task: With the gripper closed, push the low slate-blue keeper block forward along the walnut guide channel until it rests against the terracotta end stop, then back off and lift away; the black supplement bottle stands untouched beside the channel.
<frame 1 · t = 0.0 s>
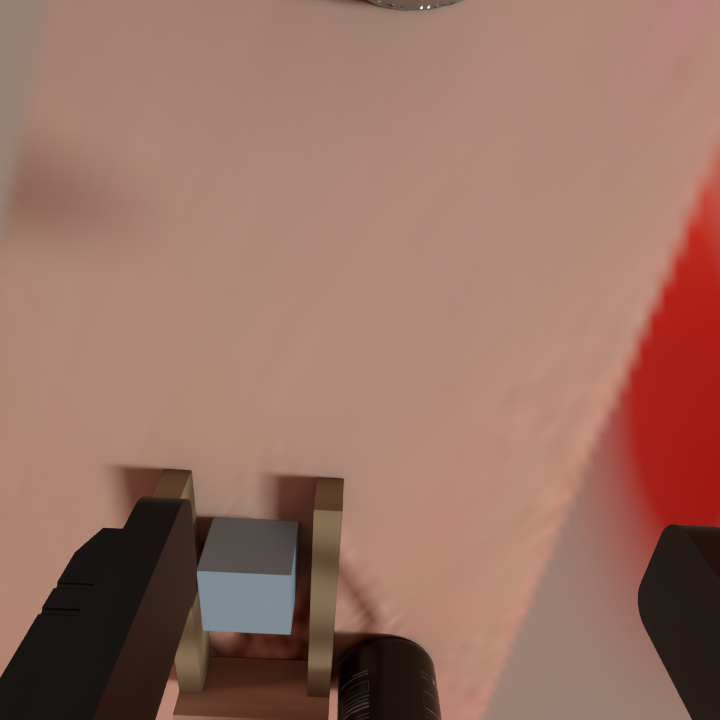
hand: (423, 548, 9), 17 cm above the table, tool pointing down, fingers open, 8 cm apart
supplement bottle: (386, 661, 40), on the table
track: (258, 593, 36), on the table
keeper: (257, 547, 34), resting in track
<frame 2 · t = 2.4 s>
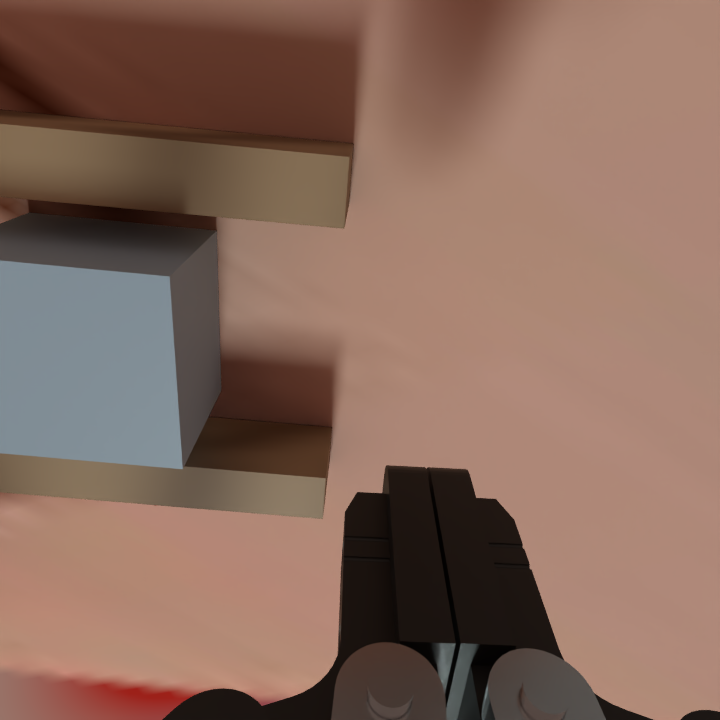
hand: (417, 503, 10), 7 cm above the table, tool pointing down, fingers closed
keeper: (134, 306, 16), resting in track
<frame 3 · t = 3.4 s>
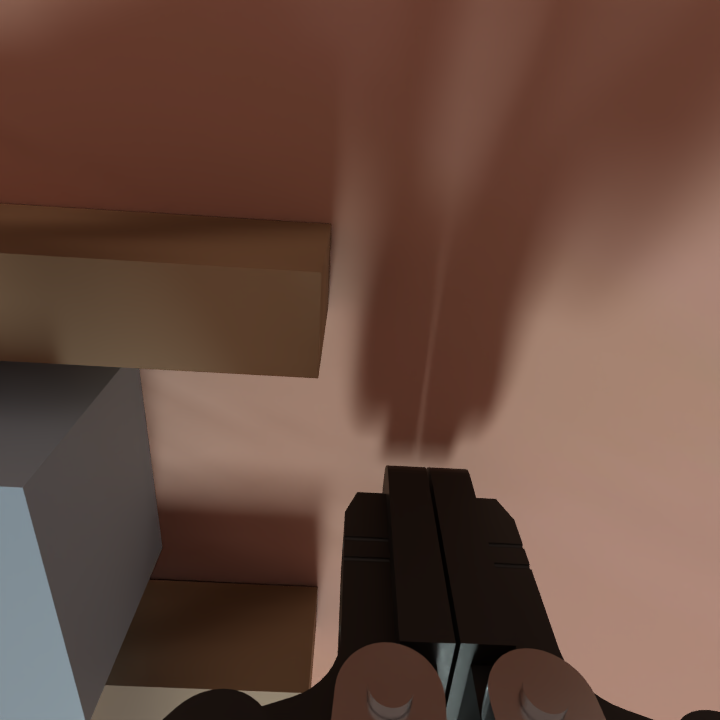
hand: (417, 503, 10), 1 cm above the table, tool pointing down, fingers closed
keeper: (30, 447, 11), resting in track
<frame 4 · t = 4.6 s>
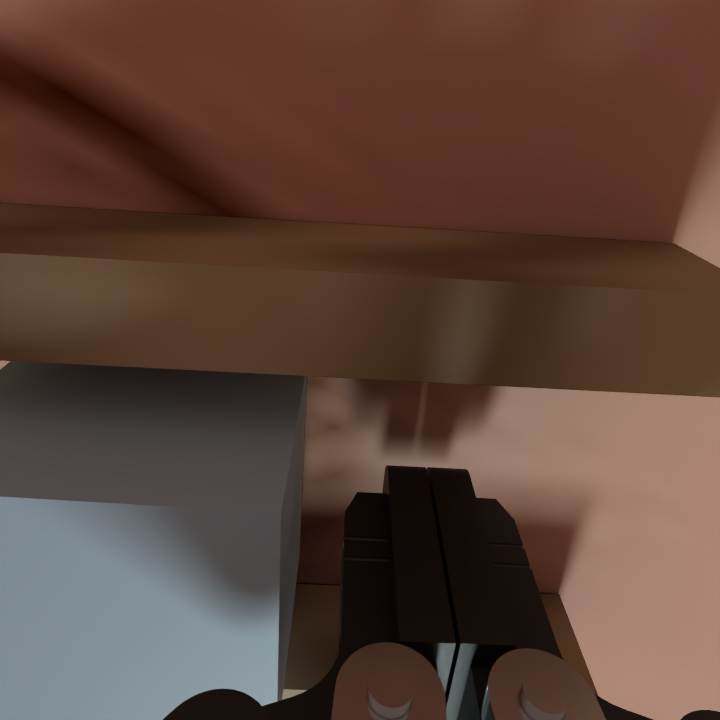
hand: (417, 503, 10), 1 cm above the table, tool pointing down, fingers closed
track: (112, 456, 11), on the table
keeper: (181, 460, 11), resting in track, touching gripper
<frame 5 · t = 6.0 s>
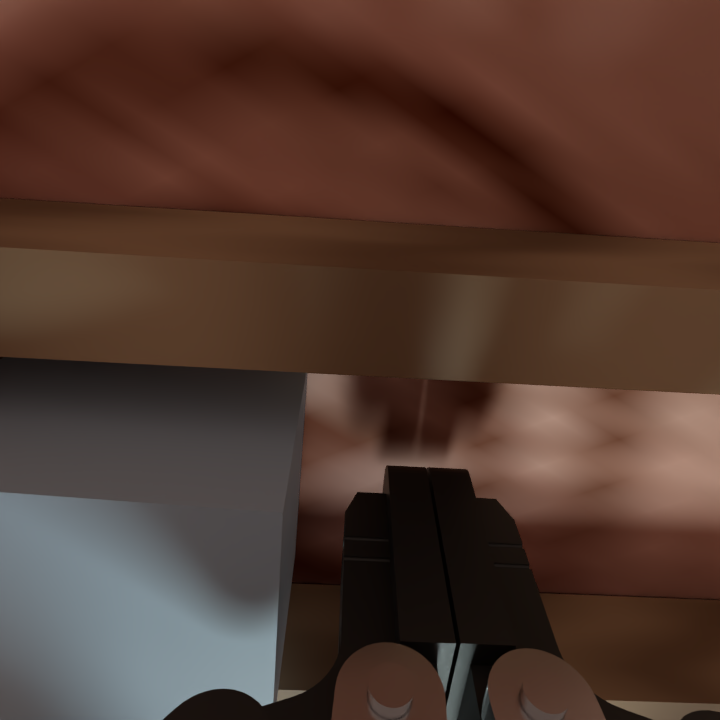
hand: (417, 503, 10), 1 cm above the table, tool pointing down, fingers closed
track: (394, 467, 11), on the table
keeper: (177, 457, 11), resting in track, touching gripper
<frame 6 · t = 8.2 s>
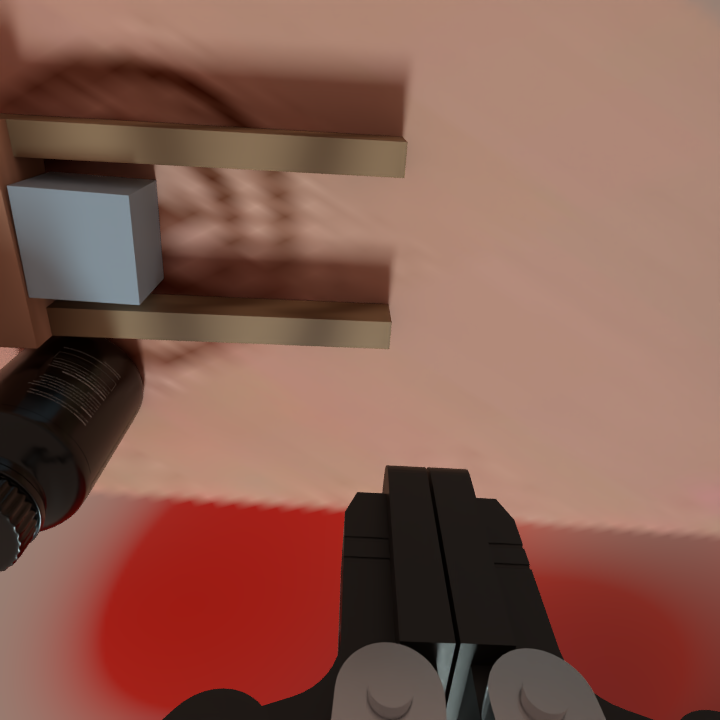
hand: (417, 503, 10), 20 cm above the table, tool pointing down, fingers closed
supplement bottle: (87, 378, 32), on the table
track: (197, 231, 28), on the table
keeper: (110, 226, 28), resting in track
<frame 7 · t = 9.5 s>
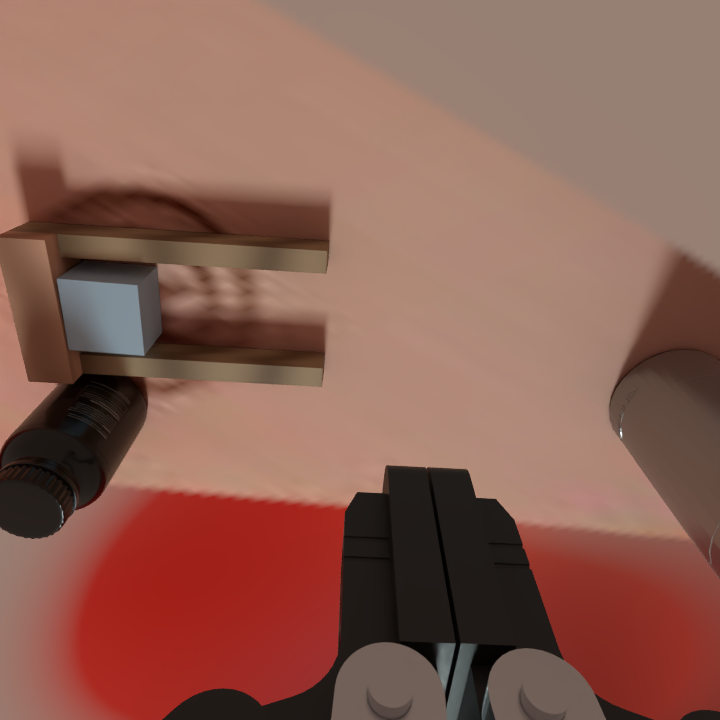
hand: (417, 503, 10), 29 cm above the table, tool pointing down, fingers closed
supplement bottle: (106, 401, 44), on the table
track: (186, 300, 40), on the table
keeper: (125, 296, 40), resting in track
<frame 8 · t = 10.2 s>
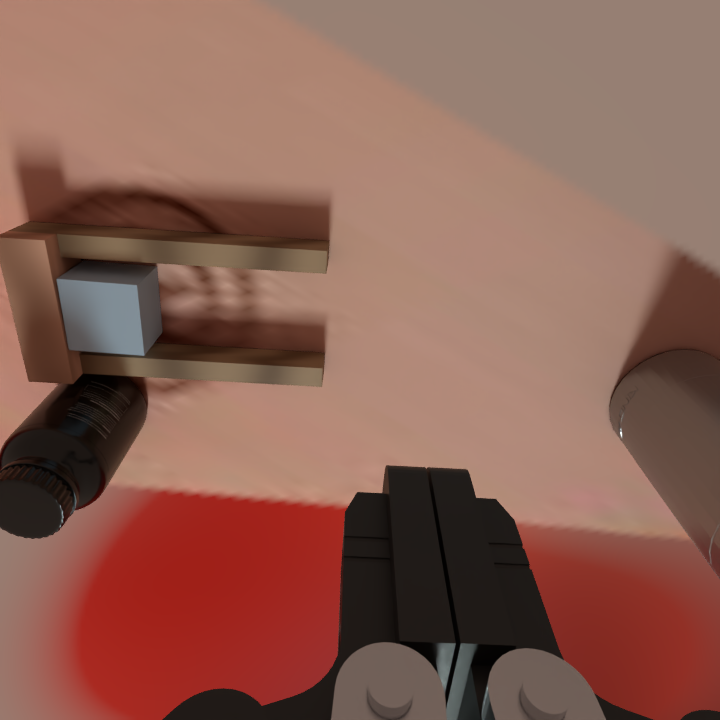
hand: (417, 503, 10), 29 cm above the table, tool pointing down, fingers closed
supplement bottle: (106, 401, 44), on the table
track: (186, 300, 40), on the table
keeper: (125, 296, 40), resting in track
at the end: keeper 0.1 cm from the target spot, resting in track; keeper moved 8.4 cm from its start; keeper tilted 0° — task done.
